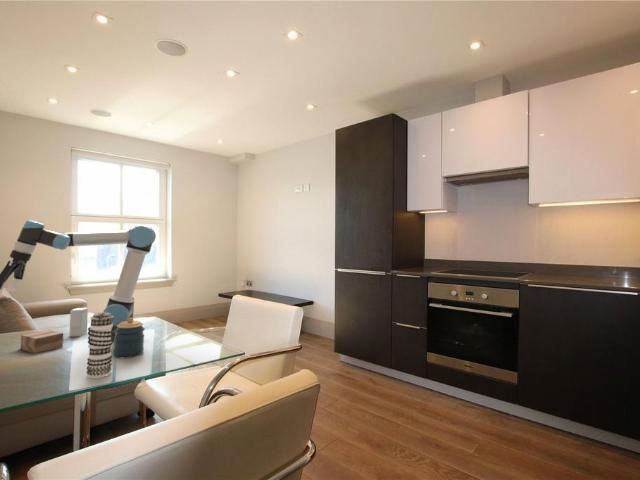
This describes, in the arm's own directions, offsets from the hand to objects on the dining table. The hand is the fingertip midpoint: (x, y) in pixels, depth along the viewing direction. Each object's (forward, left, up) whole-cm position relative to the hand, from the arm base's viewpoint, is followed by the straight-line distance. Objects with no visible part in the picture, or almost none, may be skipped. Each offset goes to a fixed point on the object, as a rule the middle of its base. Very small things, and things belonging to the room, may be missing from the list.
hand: (3, 293), depth 162 cm
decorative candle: (-65, -3, -28) cm, 71 cm away
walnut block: (-10, -12, -28) cm, 32 cm away
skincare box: (-1, -35, -28) cm, 45 cm away
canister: (-53, -26, -28) cm, 65 cm away
